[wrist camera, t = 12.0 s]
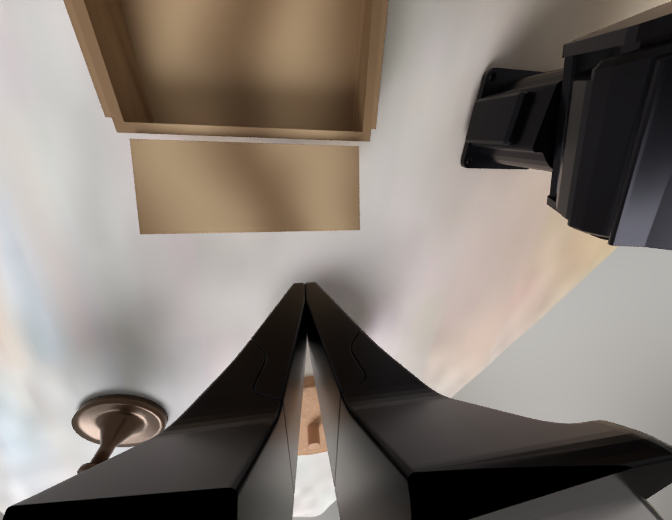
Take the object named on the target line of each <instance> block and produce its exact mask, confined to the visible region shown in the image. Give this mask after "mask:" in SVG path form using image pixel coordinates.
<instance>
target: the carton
mask: <svg viewBox="0 0 672 520" xmlns="http://www.w3.org/2000/svg"><path fill="white" fill-rule="evenodd" d="M63 1H64V3H65V6H66V9H67V12H68V15H69V17H70V20H71V23H72V26H73V28H74V31H75V34H76V37H77V40H78V42H79V45H80V48H81V51H82V53H83V56H84V59H85V62H86V65H87V67H88V70H89V73H90V76H91V78H92V81H93V84H94V87H95V90H96V92H97V95H98V98H99V101H100V103H101V106H102V109H103V112H104V115H105V117H112V119H113V122H114V125H115V128H116V131H117V132H121V133H149V134H176V135H204V136H232V137H260V138H288V139H316V140H343V141H370V134H371V129H376V122H377V111H378V101H379V91H380V81H381V71H382V61H383V51H384V41H385V31H386V21H387V11H388V1H389V0H63Z"/></svg>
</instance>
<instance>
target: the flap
mask: <svg viewBox="0 0 672 520" xmlns="http://www.w3.org/2000/svg"><path fill="white" fill-rule="evenodd" d="M130 145H131V154H132V164H133V173H134V182H135V191H136V200H137V209H138V219H139V228H140V234H180V233H232V232H284V231H336V230H360V212H359V146H331V145H300V144H269V143H239V142H208V141H177V140H147V139H130Z"/></svg>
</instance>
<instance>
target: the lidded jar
mask: <svg viewBox="0 0 672 520" xmlns="http://www.w3.org/2000/svg"><path fill="white" fill-rule="evenodd" d="M326 451H328V449H327V444H326V439H325V433H324V428H323V423H322V417H321V412H320V406H319V401H318V396H317V390H316V385H315V379H314V374H313V369H312V363H311V358H310V353H309V347H308V340H307V349H306V361H305V373H304V385H303V397H302V408H301V420H300V432H299V444H298V455H310V454H317V453H321V452H326Z"/></svg>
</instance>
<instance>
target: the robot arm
mask: <svg viewBox="0 0 672 520" xmlns="http://www.w3.org/2000/svg"><path fill="white" fill-rule="evenodd" d="M564 57H565V61H564V68H562V69H558V70H553V71H549V72H537V71H525V70H514V69H503V68H492V69H489V70H487V71H486V72H485V73H484V75H483V78H482V82H481V86H480V89H479V93H478V97H477V101H476V103H475V106H474V109H473V113H472V117H471V121H470V125H469V129H468V133H467V136H466V143H465V147H464V151H463V155H462V158H461V166H462V167H465V168H487V169H529V168H531V169H537V170H544V171H550V172H552V179H551V188H550V195H548V196H547V205H549V206H550V207H552V208H553V209H554V210H556V211H557V212H559V213H560V214H561V215H562V216H563V217H565V218H566V219H568V225H569V226H570V227H572V228H574V229H576V230H579V231H582V232H584V233H588V234H590V235H592V236H595V237H598V238H600V239H605V240H608V244H609V245H612V246H634V247H650V248H658V249H666V250H672V1H671V2H668V3H665V4H663V5H660V6H657V7H655V8H652V9H650V10H647V11H645V12H642V13H640V14H637V15H635V16H632V17H630V18H628V19H625V20H623V21H620V22H618V23H615V24H613V25H611V26H608V27H606V28H603V29H601V30H598V31H596V32H594V33H591V34H589V35H586V36H584V37H581V38H579V39H577V40H574V41H572V42H569V43H567V44H564V46H563V55H562V58H564ZM491 74H492V80H491V81H490V79H489V78H490V75H491ZM468 159H469V163H468V164H467V160H468ZM307 340H308V347H309V353H310V358H311V363H312V369H313V374H314V379H315V385H316V390H317V396H318V401H319V406H320V412H321V417H322V423H323V428H324V433H325V439H326V444H327V449H328V455H329V460H330V466H331V471H332V476H333V482H334V486H335V493H336V498H337V503H338V509H339V514H340V520H665V519H664V518H663V517H662V516H661V515H660V514H659V513H658V512H657V511H656V510H655V508H654V507H653V506H652V505H651V504H650V503H649V502H648V501H647V500H646V499H647V498H649V497H650V496H652V495H654V494H655V493H657V492H658V491H660V490H661V489H663V488H664V487H666V486H667V485H669V484H671V483H672V446H671V445H669V444H667V443H665V442H663V441H661V440H659V439H657V438H655V437H653V436H650V435H648V434H646V433H643V432H641V431H637V430H635V429H631V428H628V427H625V426H622V425H619V424H615V423H611V422H608V421H602V420H598V421H589V422H583V423H573V424H566V423H554V422H547V421H541V420H536V419H532V418H527V417H523V416H519V415H515V414H511V413H507V412H503V411H499V410H495V409H491V408H487V407H483V406H479V405H475V404H471V403H467V402H463V401H459V400H455V399H452V398H448V397H446V396H443V395H441V394H439V393H437V392H436V391H434V390H432V389H431V388H429V387H428V386H427V385H425V384H424V383H423V382H422V381H420V380H419V379H418V378H417V377H415V376H414V375H413V374H412V373H410V372H409V371H408V370H407V369H406V368H404V367H403V366H402V365H401V364H399V363H398V362H397V361H396V360H394V359H393V358H392V357H391V356H390V355H388V354H387V353H386V352H385V351H384V350H383V349H381V348H380V347H379V346H378V345H377V344H376V343H375V342H374V341H373V340H372V339H371V338H370V337H369V336H368V335H367V334H366V333H365V332H364V331H363V330H361V328H360V327H359V326H358V325H357V324H356V323H355V322H354V321H353V320H352V319H351V318H350V317H349V316H348V315H347V314H346V313H345V312H344V311H343V310H342V309H341V308H340V307H339V306H338V305H337V304H336V303H335V302H334V300H333V299H332V298H331V297H330V296H329V295H328V294H327V293H326V292H325V291H324V290H323V289H322V288H321V287H320V286H319V285H318V284H317V283H316V282H309V283H305V284H304V283H294V284H293V285H292V286H291V287H290V289H289V290H288V291H287V293H286V294H285V295H284V297H283V298H282V299H281V300H280V302H279V303H278V304H277V306H276V307H275V308H274V310H273V311H272V312H271V313H270V315H269V316H268V317H267V319H266V320H265V321H264V323H263V324H262V325H261V326H260V328H259V329H258V330H257V332H256V333H255V334H254V336H253V337H252V338H251V340H250V341H249V342H248V343H247V344H246V346H245V347H244V348H243V350H242V351H241V352H240V353H239V354H238V356H237V357H236V358H235V359H234V360H233V362H232V363H231V364H230V365H229V366H228V367H227V368H226V369H225V370H224V371H223V372H222V374H221V375H220V376H219V377H218V378H217V379H216V380H215V381H214V382H213V383H212V384H211V385H210V386H209V387H208V388H207V389H206V390H205V391H204V392H203V393H202V394H201V395H200V396H199V397H198V399H197V400H196V401H195V402H194V403H193V404H192V405H191V406H190V407H189V408H188V409H187V410H186V411H185V412H184V413H183V414H182V415H181V416H180V417H179V418H178V419H177V420H176V421H175V422H173V423H172V424H171V425H170V426H169V427H167V428H166V429H165V430H163V431H162V432H161V433H159V434H158V435H156V436H155V437H153V438H151V439H149V440H147V441H145V442H143V443H141V444H139V445H137V446H135V447H133V448H131V449H129V450H127V451H125V452H123V453H121V454H119V455H116V456H114V457H112V458H110V459H108V460H106V461H104V462H102V463H100V464H98V465H96V466H94V467H92V468H90V469H88V470H86V471H83V472H81V473H79V474H77V475H75V476H73V477H71V478H69V479H67V480H65V481H63V482H61V483H59V484H57V485H55V486H53V487H51V488H48V489H46V490H44V491H42V492H40V493H38V494H36V495H34V496H32V497H30V498H28V499H25V500H23V501H21V502H19V503H17V504H14V505H12V506H10V507H8V508H7V510H6V512H5V515H4V517H3V520H292V515H293V503H294V491H295V479H296V468H297V456H298V444H299V432H300V420H301V408H302V397H303V385H304V373H305V361H306V349H307Z"/></svg>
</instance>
